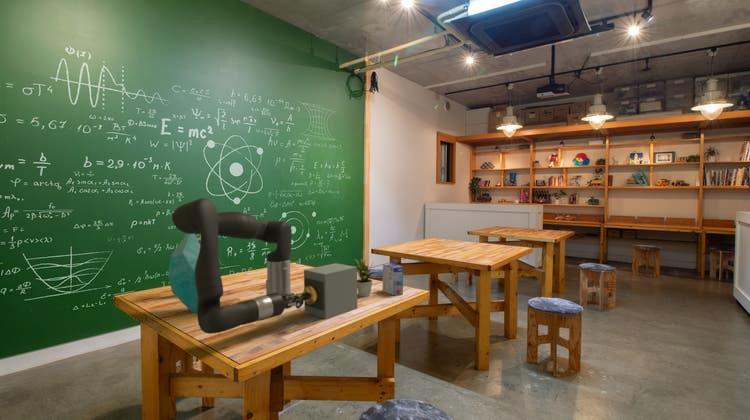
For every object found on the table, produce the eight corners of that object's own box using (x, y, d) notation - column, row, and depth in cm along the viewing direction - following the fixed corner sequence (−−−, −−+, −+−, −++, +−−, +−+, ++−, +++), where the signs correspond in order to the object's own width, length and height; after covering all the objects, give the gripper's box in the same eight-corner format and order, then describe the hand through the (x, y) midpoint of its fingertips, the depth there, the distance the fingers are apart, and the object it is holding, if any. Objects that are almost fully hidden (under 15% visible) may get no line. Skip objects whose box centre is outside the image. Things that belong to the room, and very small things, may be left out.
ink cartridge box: (404, 294, 161) (403, 261, 160) (393, 296, 158) (392, 262, 157) (392, 289, 169) (392, 257, 169) (382, 290, 167) (381, 259, 166)
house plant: (338, 294, 162) (338, 257, 161) (363, 288, 171) (362, 253, 170) (359, 301, 151) (359, 261, 150) (384, 294, 160) (384, 257, 159)
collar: (322, 310, 130) (321, 282, 130) (304, 305, 137) (304, 278, 136) (323, 310, 131) (323, 282, 130) (306, 304, 137) (305, 278, 137)
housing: (325, 319, 130) (325, 274, 129) (304, 312, 138) (303, 269, 137) (357, 308, 142) (356, 267, 141) (336, 302, 150) (335, 263, 149)
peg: (314, 306, 130) (314, 288, 130) (303, 302, 134) (302, 285, 134) (344, 296, 141) (344, 280, 141) (333, 293, 145) (333, 277, 145)
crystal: (166, 313, 138) (162, 233, 137) (202, 304, 149) (199, 230, 148) (181, 320, 131) (178, 235, 129) (218, 309, 142) (215, 232, 140)
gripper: (277, 299, 114) (320, 288, 127) (254, 291, 123) (297, 282, 136) (277, 323, 115) (320, 309, 128) (255, 313, 123) (297, 302, 136)
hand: (308, 295), depth 132 cm, fingers closed
